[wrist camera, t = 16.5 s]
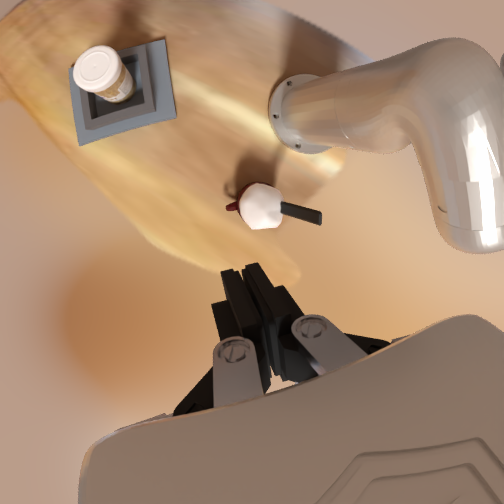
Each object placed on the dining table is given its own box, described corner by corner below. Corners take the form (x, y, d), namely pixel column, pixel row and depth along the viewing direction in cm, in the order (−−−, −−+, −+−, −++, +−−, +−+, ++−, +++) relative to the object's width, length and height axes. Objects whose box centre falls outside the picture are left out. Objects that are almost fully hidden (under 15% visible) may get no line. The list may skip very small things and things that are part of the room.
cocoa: (220, 211, 41) (232, 242, 30) (233, 170, 39) (250, 187, 28) (279, 226, 44) (307, 260, 33) (292, 188, 42) (327, 211, 31)
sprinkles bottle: (100, 101, 29) (64, 85, 17) (112, 70, 28) (84, 41, 16) (129, 108, 31) (105, 93, 19) (142, 77, 29) (126, 48, 17)
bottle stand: (164, 41, 29) (163, 30, 25) (176, 118, 34) (176, 115, 30) (70, 70, 26) (59, 63, 22) (81, 145, 31) (70, 147, 27)
